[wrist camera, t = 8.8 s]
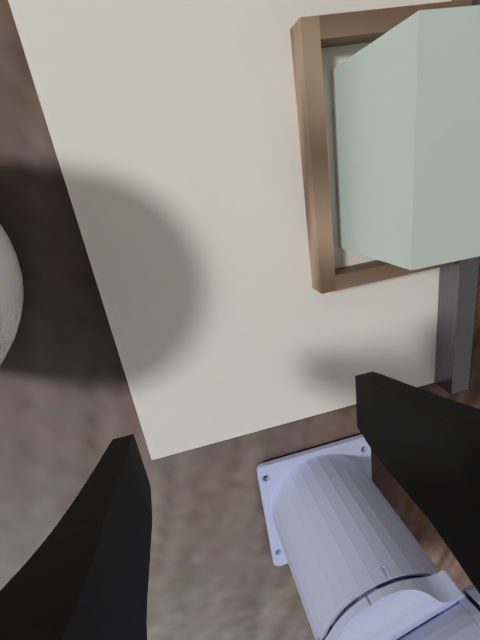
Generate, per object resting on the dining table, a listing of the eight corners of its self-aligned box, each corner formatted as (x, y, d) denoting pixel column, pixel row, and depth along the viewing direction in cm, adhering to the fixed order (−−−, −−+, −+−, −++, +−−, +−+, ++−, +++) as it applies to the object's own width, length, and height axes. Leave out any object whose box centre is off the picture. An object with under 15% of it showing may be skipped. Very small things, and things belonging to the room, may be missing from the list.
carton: (338, 247, 19) (410, 270, 14) (330, 70, 16) (418, 10, 11) (427, 230, 20) (529, 245, 15) (434, 58, 17) (566, -3, 12)
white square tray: (445, 371, 25) (472, 388, 23) (151, 451, 22) (151, 478, 20) (473, -101, 16) (521, -145, 14) (-9, -71, 13) (-41, -121, 11)
